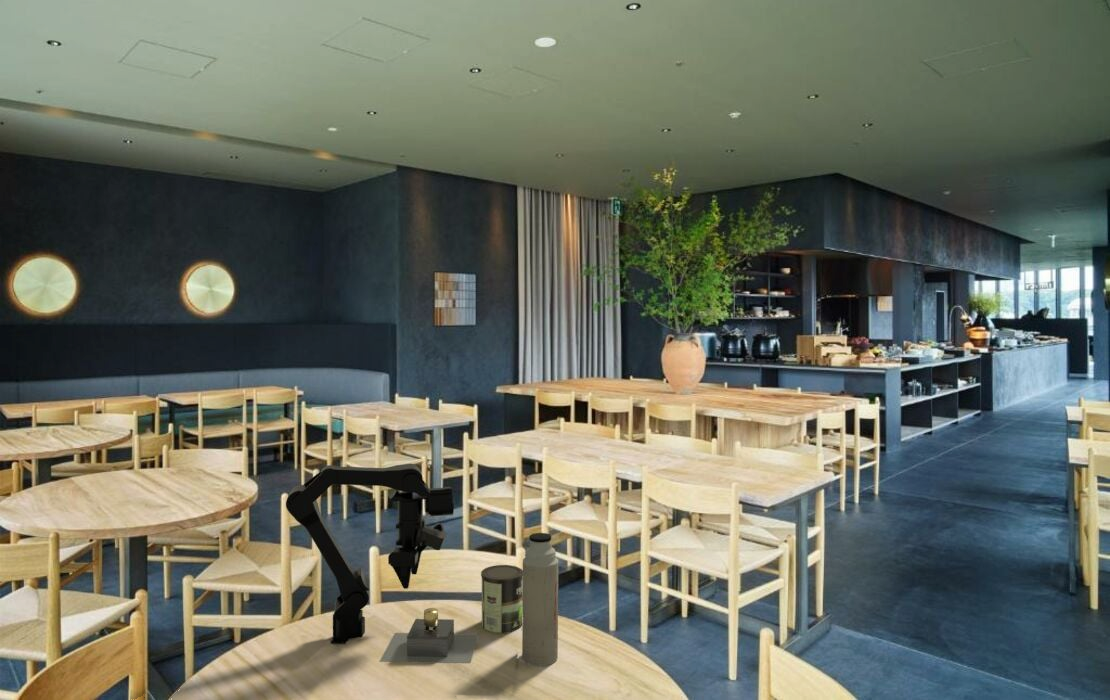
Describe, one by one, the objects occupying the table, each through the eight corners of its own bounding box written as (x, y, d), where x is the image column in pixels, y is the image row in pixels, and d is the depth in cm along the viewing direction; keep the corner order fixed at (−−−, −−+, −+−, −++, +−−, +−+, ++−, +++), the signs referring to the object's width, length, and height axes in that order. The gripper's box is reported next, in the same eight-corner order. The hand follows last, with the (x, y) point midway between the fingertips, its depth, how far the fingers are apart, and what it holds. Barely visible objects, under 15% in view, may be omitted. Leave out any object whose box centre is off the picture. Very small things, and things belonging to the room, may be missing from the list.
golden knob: (421, 650, 162) (421, 614, 162) (424, 642, 166) (424, 607, 165) (437, 650, 162) (437, 614, 161) (440, 642, 166) (440, 607, 165)
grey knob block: (407, 656, 159) (406, 636, 159) (415, 638, 168) (415, 618, 168) (447, 657, 159) (447, 636, 159) (453, 638, 168) (453, 619, 168)
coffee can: (524, 619, 182) (524, 564, 181) (521, 637, 171) (521, 579, 171) (483, 618, 182) (483, 564, 181) (478, 637, 171) (478, 579, 171)
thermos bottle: (560, 651, 164) (561, 531, 163) (553, 668, 157) (554, 542, 155) (526, 647, 166) (527, 528, 165) (518, 664, 158) (519, 539, 157)
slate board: (379, 665, 157) (379, 661, 157) (395, 637, 171) (395, 632, 171) (470, 667, 157) (470, 662, 157) (478, 638, 171) (478, 634, 171)
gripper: (436, 529, 163) (436, 596, 164) (449, 507, 182) (449, 567, 182) (387, 529, 163) (387, 596, 164) (406, 506, 182) (406, 567, 183)
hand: (410, 581), depth 173 cm, fingers open, 9 cm apart
